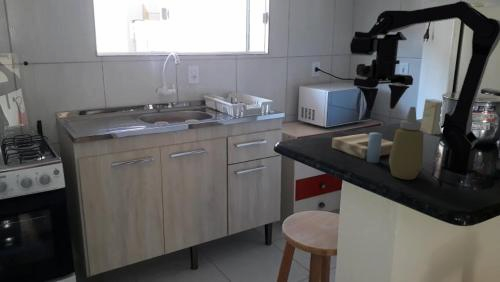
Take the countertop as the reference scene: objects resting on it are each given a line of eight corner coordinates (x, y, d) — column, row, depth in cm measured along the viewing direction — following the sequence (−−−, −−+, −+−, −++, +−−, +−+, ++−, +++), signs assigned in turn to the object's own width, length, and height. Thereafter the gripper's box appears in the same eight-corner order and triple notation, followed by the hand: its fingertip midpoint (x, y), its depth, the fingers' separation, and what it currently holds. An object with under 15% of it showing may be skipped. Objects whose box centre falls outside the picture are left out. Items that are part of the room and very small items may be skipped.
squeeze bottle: (381, 175, 106) (389, 106, 102) (396, 169, 112) (404, 103, 107) (411, 184, 101) (422, 111, 96) (425, 177, 106) (436, 107, 102)
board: (396, 152, 127) (397, 143, 126) (363, 159, 120) (364, 149, 119) (363, 142, 138) (364, 133, 137) (331, 147, 131) (332, 138, 130)
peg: (381, 161, 118) (385, 134, 116) (373, 163, 116) (376, 135, 114) (372, 158, 121) (375, 131, 119) (363, 160, 119) (366, 133, 117)
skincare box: (419, 131, 157) (424, 99, 154) (429, 130, 158) (434, 98, 155) (431, 135, 151) (436, 102, 148) (441, 134, 152) (446, 101, 149)
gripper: (387, 54, 131) (382, 103, 135) (342, 55, 122) (338, 107, 126) (417, 56, 122) (410, 109, 126) (370, 57, 113) (365, 113, 117)
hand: (381, 109), depth 124 cm, fingers open, 9 cm apart
